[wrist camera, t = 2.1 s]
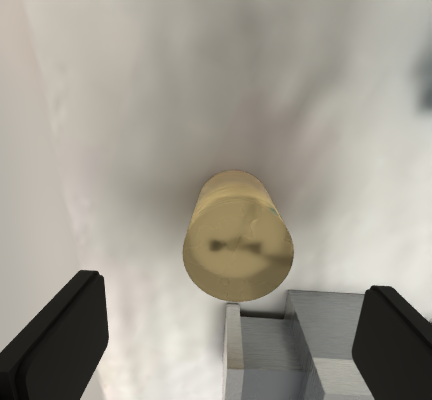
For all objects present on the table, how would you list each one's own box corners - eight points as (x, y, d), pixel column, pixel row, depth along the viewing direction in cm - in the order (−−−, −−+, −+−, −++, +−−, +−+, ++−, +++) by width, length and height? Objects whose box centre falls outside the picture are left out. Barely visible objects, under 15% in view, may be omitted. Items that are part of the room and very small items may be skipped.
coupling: (198, 168, 18) (183, 200, 11) (272, 172, 18) (301, 206, 11) (197, 235, 19) (182, 298, 13) (265, 239, 19) (286, 304, 13)
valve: (227, 286, 21) (228, 386, 13) (462, 300, 20) (604, 412, 13) (222, 369, 23) (220, 492, 16) (429, 383, 23) (530, 516, 15)
